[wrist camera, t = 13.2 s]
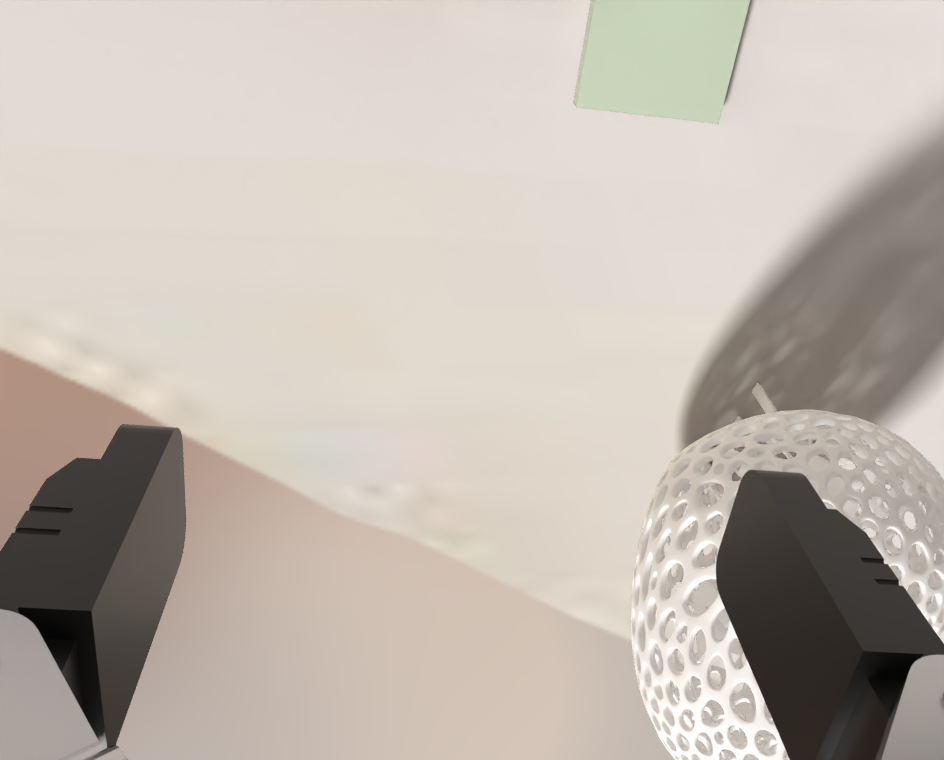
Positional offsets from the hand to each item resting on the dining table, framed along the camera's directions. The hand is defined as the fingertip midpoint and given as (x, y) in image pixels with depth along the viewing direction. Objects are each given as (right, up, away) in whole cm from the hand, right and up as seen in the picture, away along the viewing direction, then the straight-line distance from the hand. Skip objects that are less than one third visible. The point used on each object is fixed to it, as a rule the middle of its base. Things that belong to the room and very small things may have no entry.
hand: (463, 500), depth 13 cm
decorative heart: (+14, -3, +37) cm, 39 cm away
